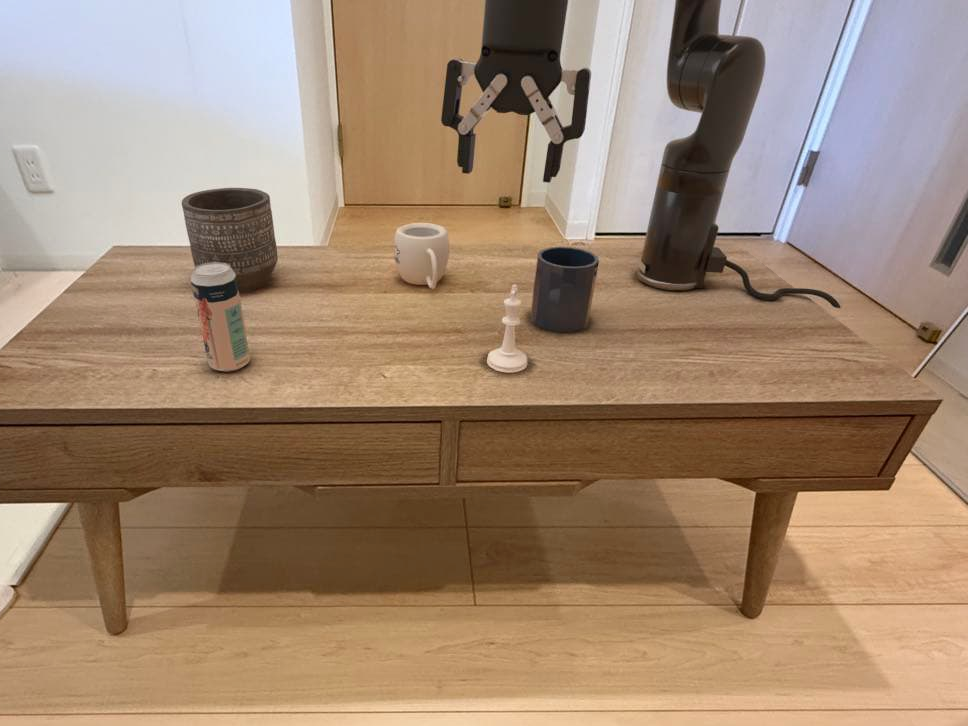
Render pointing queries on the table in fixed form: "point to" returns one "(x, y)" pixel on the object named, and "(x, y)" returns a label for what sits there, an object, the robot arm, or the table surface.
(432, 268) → the mug
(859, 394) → the table surface
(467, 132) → the robot arm
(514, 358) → the chess piece
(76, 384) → the table surface
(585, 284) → the slate cup
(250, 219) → the planter
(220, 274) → the beer can
